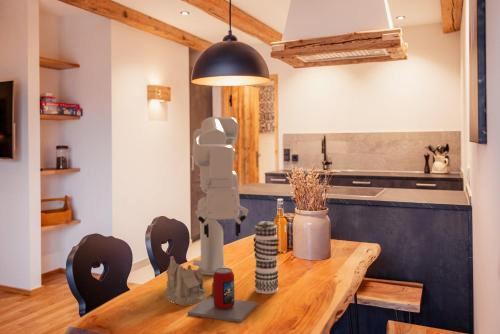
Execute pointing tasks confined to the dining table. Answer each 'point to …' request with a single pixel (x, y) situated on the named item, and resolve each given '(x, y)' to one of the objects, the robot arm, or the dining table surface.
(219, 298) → the beverage can
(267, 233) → the decorative candle
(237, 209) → the robot arm
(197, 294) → the ceramic cottage
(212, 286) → the walnut block
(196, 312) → the slate board
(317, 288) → the dining table surface
